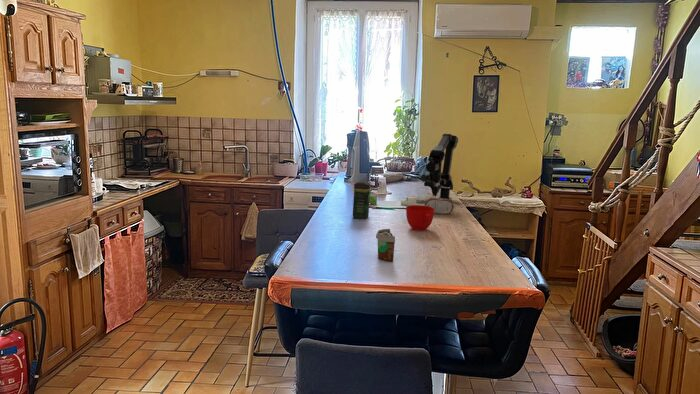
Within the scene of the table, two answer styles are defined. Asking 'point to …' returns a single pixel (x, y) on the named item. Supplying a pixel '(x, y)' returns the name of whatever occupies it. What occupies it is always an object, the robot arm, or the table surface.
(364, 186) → the coffee jar
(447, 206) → the tin
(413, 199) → the tile
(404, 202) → the box
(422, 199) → the plate
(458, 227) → the table surface
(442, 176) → the robot arm
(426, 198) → the tile
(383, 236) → the food container
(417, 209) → the ceramic cup
